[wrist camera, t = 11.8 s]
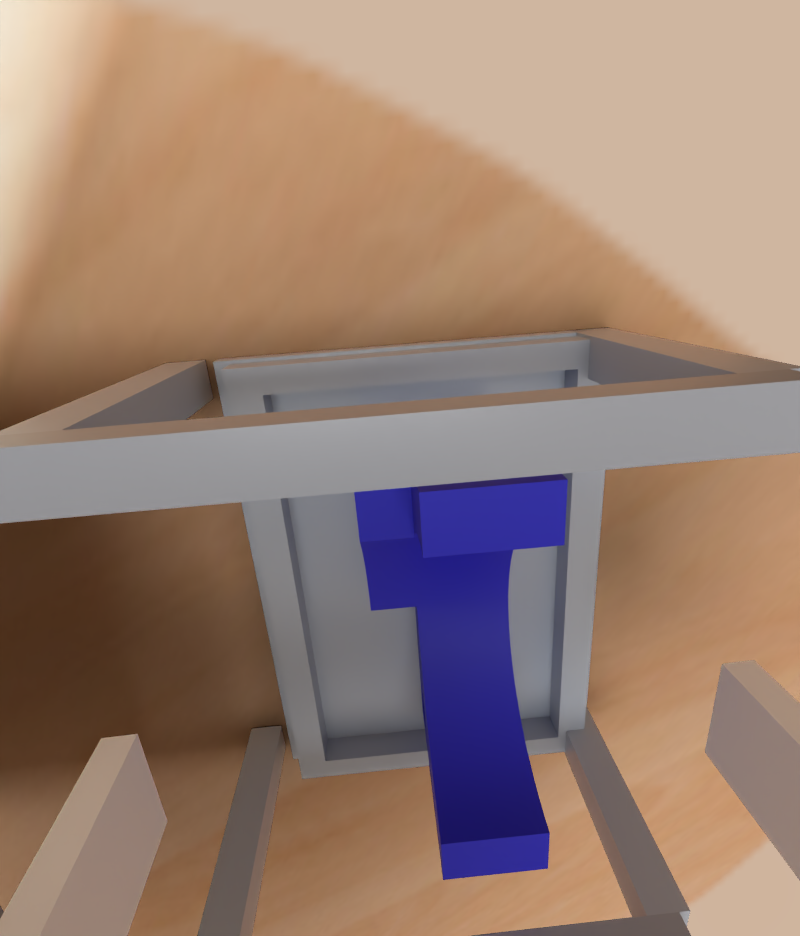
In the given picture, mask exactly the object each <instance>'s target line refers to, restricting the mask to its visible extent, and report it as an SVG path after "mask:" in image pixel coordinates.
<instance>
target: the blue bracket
mask: <svg viewBox="0 0 800 936" xmlns="http://www.w3.org/2000/svg"><path fill="white" fill-rule="evenodd" d="M567 486H568V479H567V478H566V477H565V476H564V475H563V474H553V475H542V476H531V477H519V478H508V479H497V480H485V481H474V482H463V483H452V484H440V485H429V486H418V487H406V488H395V489H384V490H373V491H361V492H354V495H355V504H356V513H357V522H358V531H359V540H360V545H361V548H362V553H363V558H364V563H365V569H366V576H367V583H368V590H369V598H370V607H371V611H375V610H386V609H396V608H407V607H415V612H416V626H417V640H418V653H419V667H420V681H421V695H422V709H423V718H424V726H425V734H426V743H427V751H428V759H429V767H430V775H431V784H432V792H433V800H434V808H435V817H436V825H437V833H438V841H439V849H440V858H441V866H442V874H443V880H446V879H455V878H465V877H474V876H483V875H492V874H501V873H511V872H520V871H529V870H538V869H548V853H549V834H550V833H549V830H548V826H547V823H546V820H545V817H544V813H543V810H542V806H541V803H540V799H539V796H538V792H537V788H536V785H535V781H534V777H533V773H532V769H531V765H530V761H529V756H528V752H527V747H526V743H525V738H524V733H523V728H522V723H521V717H520V712H519V706H518V700H517V694H516V687H515V680H514V673H513V665H512V656H511V646H510V633H509V611H508V590H509V574H510V565H511V558H512V553H513V550H517V549H528V548H539V547H550V546H561V545H564V544H565V525H566V506H567Z"/></svg>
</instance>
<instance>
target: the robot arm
mask: <svg viewBox="0 0 800 936" xmlns="http://www.w3.org/2000/svg"><path fill="white" fill-rule="evenodd" d="M705 753H706V754H707V756H708V757H709V758H710V760H711V761H712V762H713V764H714V765H715V766H716V768H717V769H718V770H719V772H720V773H721V774H722V776H723V777H724V779H725V780H726V781H727V783H728V784H729V785H730V787H731V788H732V789H733V791H734V792H735V793H736V795H737V796H738V797H739V799H740V800H741V802H742V803H743V804H744V806H745V807H746V808H747V810H748V811H749V812H750V814H751V815H752V816H753V818H754V819H755V820H756V822H757V823H758V825H759V826H760V827H761V829H762V830H763V831H764V833H765V834H766V835H767V837H768V838H769V839H770V841H771V842H772V843H773V845H774V846H775V847H776V849H777V850H778V852H779V853H780V854H781V855H782V857H783V858H784V860H785V861H786V862H787V863H788V865H789V866H790V868H791V869H792V870H793V872H794V873H795V875H796V876H797V877H798V878H799V880H800V703H799V702H798V701H797V700H796V699H795V698H793V697H792V696H791V695H790V694H789V693H788V692H787V691H786V690H785V689H784V688H783V687H782V686H781V685H780V684H779V683H778V682H777V681H776V680H775V679H774V678H772V677H771V676H770V675H769V674H768V673H767V672H766V671H765V670H764V669H763V668H762V667H761V666H760V665H759V664H758V663H757V662H756V661H755V660H750V661H741V662H733V663H725V664H722V667H721V672H720V677H719V682H718V687H717V692H716V697H715V703H714V708H713V713H712V718H711V723H710V728H709V733H708V739H707V744H706V749H705ZM166 824H167V818H166V815H165V812H164V809H163V806H162V804H161V801H160V798H159V795H158V792H157V789H156V786H155V783H154V780H153V777H152V774H151V772H150V769H149V766H148V763H147V760H146V757H145V754H144V751H143V748H142V745H141V742H140V740H139V737H138V734H132V735H123V736H115V737H106V738H101V739H100V741H99V743H98V745H97V747H96V748H95V750H94V752H93V754H92V755H91V757H90V759H89V761H88V763H87V764H86V766H85V768H84V770H83V772H82V773H81V775H80V777H79V779H78V780H77V782H76V784H75V786H74V788H73V789H72V791H71V793H70V795H69V797H68V798H67V800H66V802H65V804H64V805H63V807H62V809H61V811H60V813H59V814H58V816H57V818H56V820H55V822H54V823H53V825H52V827H51V829H50V830H49V832H48V834H47V836H46V838H45V839H44V841H43V843H42V845H41V847H40V848H39V850H38V852H37V854H36V855H35V857H34V859H33V861H32V863H31V864H30V866H29V868H28V870H27V872H26V873H25V875H24V877H23V879H22V880H21V882H20V884H19V886H18V888H17V889H16V891H15V893H14V895H13V897H12V898H11V900H10V902H9V904H8V906H7V907H6V909H5V911H4V913H3V914H2V916H1V918H0V936H127V935H128V933H129V930H130V927H131V924H132V921H133V918H134V915H135V913H136V910H137V907H138V904H139V901H140V898H141V895H142V893H143V890H144V887H145V884H146V881H147V878H148V876H149V873H150V870H151V867H152V864H153V861H154V858H155V856H156V853H157V850H158V847H159V844H160V841H161V838H162V836H163V833H164V830H165V827H166Z"/></svg>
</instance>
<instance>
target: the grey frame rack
mask: <svg viewBox="0 0 800 936" xmlns="http://www.w3.org/2000/svg"><path fill="white" fill-rule="evenodd" d="M213 365H214V370H215V375H216V380H217V385H218V390H219V395H220V400H221V405H222V410H223V415H224V417H212V418H200V419H188V420H186V419H187V418H189V417H190V416H191V415H193V414H194V413H195V412H197V411H198V410H199V409H200V408H202V407H203V406H204V405H206V404H207V403H208V402H210V401H211V400H212V399H213V394H212V390H211V385H210V380H209V375H208V370H207V366H206V361H205V360H198V361H185V362H173V363H164V364H162V365H160V366H157V367H155V368H152V369H150V370H147V371H145V372H142V373H140V374H138V375H135V376H133V377H130V378H128V379H125V380H123V381H120V382H118V383H116V384H113V385H111V386H108V387H106V388H103V389H101V390H98V391H96V392H94V393H91V394H89V395H86V396H84V397H81V398H79V399H76V400H74V401H72V402H69V403H67V404H64V405H62V406H59V407H57V408H54V409H52V410H50V411H47V412H45V413H42V414H40V415H37V416H35V417H32V418H30V419H28V420H25V421H23V422H20V423H18V424H15V425H13V426H10V427H8V428H6V429H3V430H1V431H0V523H12V522H23V521H34V520H45V519H57V518H68V517H79V516H91V515H102V514H113V513H124V512H136V511H147V510H158V509H170V508H181V507H192V506H203V505H215V504H226V503H237V502H241V503H242V508H243V513H244V518H245V523H246V528H247V533H248V538H249V543H250V548H251V553H252V558H253V563H254V568H255V573H256V577H257V582H258V587H259V592H260V597H261V602H262V607H263V612H264V617H265V622H266V627H267V632H268V637H269V642H270V647H271V651H272V656H273V661H274V666H275V671H276V676H277V681H278V686H279V691H280V696H281V701H282V706H283V711H284V716H285V720H286V725H287V730H288V735H289V740H290V745H291V750H292V755H293V759H298V760H299V765H300V770H301V775H302V779H307V778H317V777H326V776H336V775H345V774H355V773H365V772H374V771H384V770H393V769H403V768H413V767H422V766H429V759H428V751H427V743H426V734H425V726H424V718H423V709H422V695H421V681H420V667H419V653H418V640H417V626H416V612H415V607H407V608H396V609H386V610H375V611H371V607H370V598H369V590H368V583H367V576H366V569H365V563H364V558H363V553H362V548H361V545H360V540H359V531H358V522H357V513H356V504H355V495H354V492H361V491H373V490H384V489H395V488H406V487H418V486H429V485H440V484H452V483H463V482H474V481H485V480H497V479H508V478H519V477H531V476H542V475H553V474H563V475H564V476H565V477H566V478H567V479H568V486H567V506H566V525H565V544H564V545H561V546H550V547H539V548H528V549H517V550H513V553H512V558H511V565H510V574H509V590H508V611H509V633H510V646H511V656H512V665H513V673H514V680H515V687H516V694H517V700H518V706H519V712H520V717H521V723H522V728H523V733H524V738H525V743H526V747H527V752H528V755H538V754H547V753H557V752H565V755H566V757H567V760H568V762H569V764H570V767H571V769H572V772H573V774H574V777H575V779H576V781H577V784H578V786H579V789H580V791H581V794H582V796H583V798H584V801H585V803H586V806H587V808H588V811H589V813H590V815H591V818H592V820H593V823H594V825H595V828H596V830H597V832H598V835H599V837H600V840H601V842H602V845H603V847H604V849H605V852H606V854H607V857H608V859H609V862H610V864H611V866H612V869H613V871H614V874H615V876H616V879H617V881H618V883H619V886H620V888H621V891H622V893H623V896H624V898H625V900H626V903H627V905H628V908H629V910H630V913H631V915H632V917H631V918H622V919H613V920H605V921H596V922H587V923H578V924H569V925H561V926H552V927H543V928H534V929H525V930H517V931H508V932H499V933H490V934H481V935H473V936H691V935H690V933H689V931H688V929H687V923H688V918H689V914H690V910H689V908H688V906H687V904H686V902H685V900H684V898H683V896H682V894H681V892H680V890H679V888H678V886H677V884H676V882H675V880H674V878H673V876H672V874H671V872H670V870H669V868H668V866H667V864H666V862H665V860H664V858H663V856H662V854H661V852H660V850H659V848H658V846H657V845H656V843H655V841H654V839H653V837H652V835H651V833H650V831H649V829H648V827H647V825H646V823H645V821H644V819H643V817H642V815H641V813H640V811H639V809H638V807H637V805H636V803H635V801H634V799H633V797H632V795H631V793H630V791H629V789H628V787H627V785H626V783H625V781H624V779H623V778H622V776H621V774H620V772H619V770H618V768H617V766H616V764H615V762H614V760H613V758H612V756H611V754H610V752H609V750H608V748H607V746H606V744H605V742H604V740H603V738H602V736H601V734H600V732H599V730H598V728H597V726H596V724H595V722H594V720H593V718H592V716H591V714H590V713H589V711H588V709H587V696H588V683H589V670H590V658H591V645H592V632H593V620H594V607H595V594H596V581H597V569H598V556H599V543H600V531H601V518H602V505H603V493H604V480H605V470H609V469H621V468H632V467H643V466H655V465H666V464H677V463H688V462H700V461H711V460H722V459H734V458H745V457H756V456H767V455H779V454H790V453H800V366H797V365H792V364H787V363H782V362H777V361H772V360H767V359H762V358H757V357H752V356H747V355H742V354H737V353H732V352H727V351H722V350H717V349H712V348H707V347H702V346H697V345H692V344H687V343H682V342H677V341H673V340H668V339H663V338H658V337H653V336H648V335H643V334H638V333H633V332H628V331H623V330H618V329H613V328H608V327H606V328H594V329H582V330H569V331H557V332H544V333H532V334H520V335H507V336H495V337H482V338H470V339H458V340H445V341H433V342H421V343H408V344H396V345H383V346H371V347H359V348H346V349H334V350H322V351H309V352H297V353H284V354H272V355H260V356H247V357H235V358H222V359H217V360H215V361H213ZM285 749H286V746H285V741H284V736H283V732H282V727H281V726H273V727H263V728H253V729H252V730H251V733H250V737H249V741H248V745H247V749H246V752H245V756H244V760H243V764H242V768H241V771H240V775H239V779H238V783H237V787H236V791H235V794H234V798H233V802H232V806H231V810H230V813H229V817H228V821H227V825H226V829H225V832H224V836H223V840H222V844H221V848H220V851H219V855H218V859H217V863H216V867H215V870H214V874H213V878H212V882H211V886H210V889H209V893H208V897H207V901H206V905H205V909H204V912H203V916H202V920H201V924H200V928H199V931H198V935H197V936H252V933H253V927H254V921H255V916H256V910H257V905H258V899H259V894H260V888H261V882H262V877H263V871H264V866H265V860H266V855H267V849H268V843H269V838H270V832H271V827H272V821H273V816H274V810H275V804H276V799H277V793H278V788H279V782H280V777H281V771H282V765H283V760H284V754H285Z"/></svg>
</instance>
